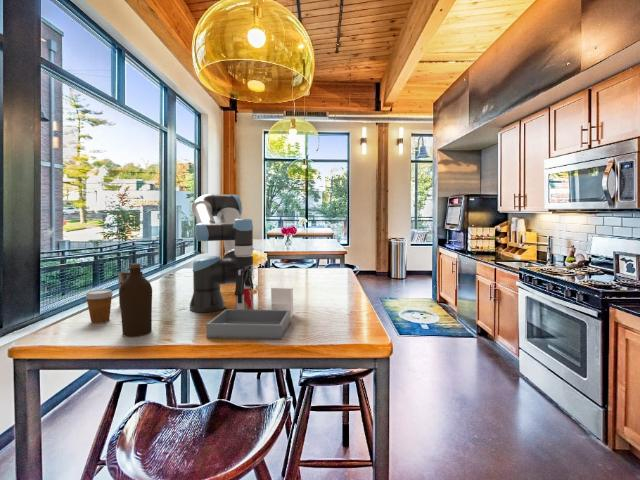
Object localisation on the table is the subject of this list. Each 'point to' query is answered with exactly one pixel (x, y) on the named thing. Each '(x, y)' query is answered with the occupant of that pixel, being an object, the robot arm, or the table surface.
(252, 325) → the tote
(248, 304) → the soda can
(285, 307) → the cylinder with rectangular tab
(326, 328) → the table surface
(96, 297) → the disposable coffee cup
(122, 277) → the coffee box
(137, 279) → the brown growler jug
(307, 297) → the table surface
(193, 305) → the robot arm
